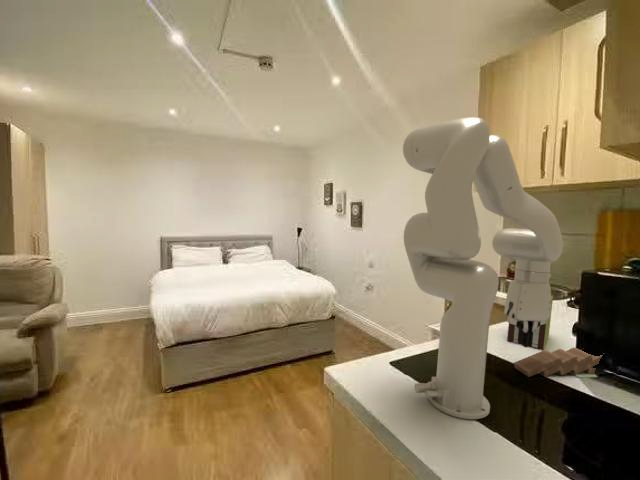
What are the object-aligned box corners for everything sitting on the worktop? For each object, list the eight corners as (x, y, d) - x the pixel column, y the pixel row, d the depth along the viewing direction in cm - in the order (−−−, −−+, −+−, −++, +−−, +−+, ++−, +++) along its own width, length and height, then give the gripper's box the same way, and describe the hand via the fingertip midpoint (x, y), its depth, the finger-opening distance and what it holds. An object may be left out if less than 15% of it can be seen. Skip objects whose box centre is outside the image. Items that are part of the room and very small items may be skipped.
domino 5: (589, 368, 87) (620, 368, 89) (572, 359, 92) (602, 360, 94) (588, 374, 88) (620, 374, 89) (571, 365, 92) (601, 365, 94)
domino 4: (573, 369, 87) (605, 354, 88) (557, 361, 92) (587, 346, 93) (575, 374, 87) (606, 359, 88) (559, 366, 92) (589, 351, 93)
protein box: (548, 337, 115) (553, 294, 113) (543, 351, 103) (549, 302, 102) (514, 329, 121) (518, 288, 120) (506, 341, 110) (510, 295, 108)
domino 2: (543, 371, 86) (576, 356, 87) (529, 362, 91) (560, 348, 92) (545, 376, 86) (577, 361, 87) (530, 367, 91) (561, 353, 92)
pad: (578, 377, 86) (578, 376, 86) (556, 365, 93) (556, 364, 93) (597, 377, 87) (597, 376, 87) (573, 364, 94) (573, 363, 94)
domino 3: (559, 370, 86) (591, 354, 87) (544, 361, 91) (574, 347, 92) (561, 375, 86) (592, 360, 88) (545, 366, 91) (575, 352, 92)
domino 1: (527, 371, 85) (560, 357, 86) (513, 362, 90) (545, 349, 91) (528, 377, 85) (562, 363, 86) (514, 367, 90) (547, 354, 91)
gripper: (545, 274, 90) (538, 339, 92) (495, 273, 88) (489, 340, 90) (569, 280, 83) (561, 350, 84) (515, 279, 81) (508, 351, 82)
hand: (524, 345), depth 87 cm, fingers closed
